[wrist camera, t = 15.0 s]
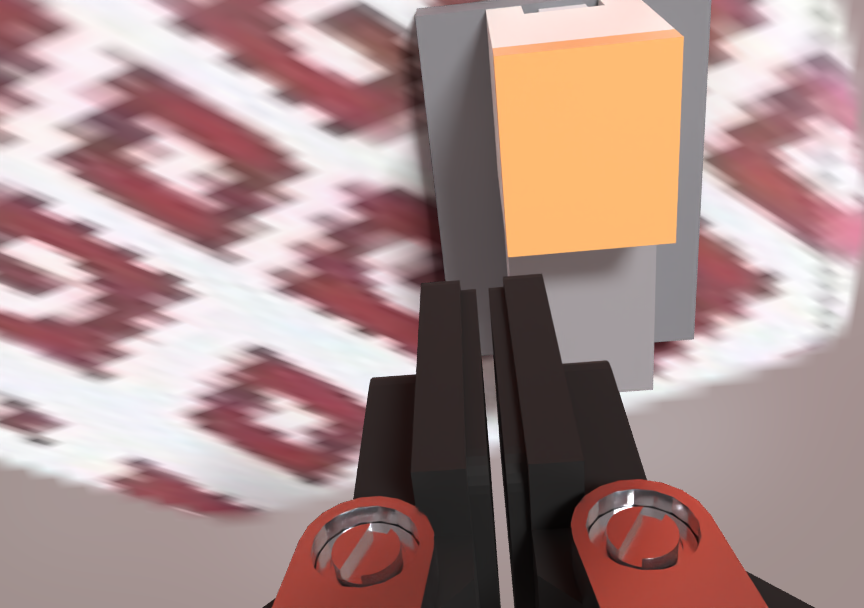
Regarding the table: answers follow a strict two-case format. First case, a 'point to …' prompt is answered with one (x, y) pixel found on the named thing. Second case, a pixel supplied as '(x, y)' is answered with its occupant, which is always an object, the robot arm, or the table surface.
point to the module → (586, 126)
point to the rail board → (479, 160)
